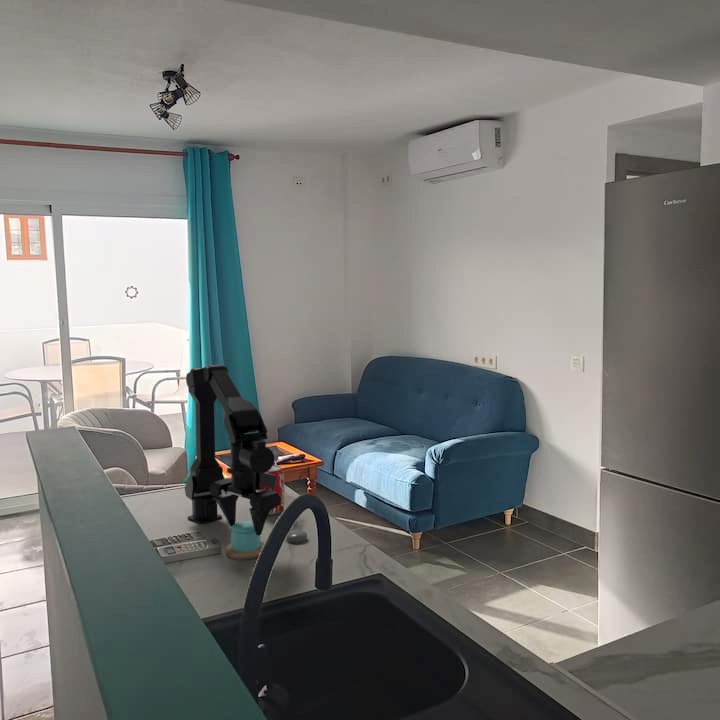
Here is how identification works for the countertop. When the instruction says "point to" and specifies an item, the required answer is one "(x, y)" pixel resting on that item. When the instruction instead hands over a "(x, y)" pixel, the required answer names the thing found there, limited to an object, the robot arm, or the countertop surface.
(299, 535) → the gray disc
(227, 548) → the round walnut base
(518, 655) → the countertop surface
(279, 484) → the soda can
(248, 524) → the teal plastic cap
